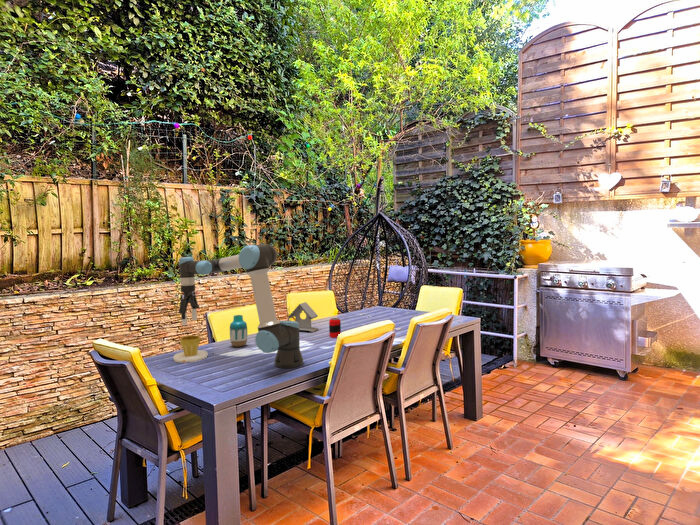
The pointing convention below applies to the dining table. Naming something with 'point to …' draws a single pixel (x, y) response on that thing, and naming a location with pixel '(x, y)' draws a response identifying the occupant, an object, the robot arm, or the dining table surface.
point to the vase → (238, 331)
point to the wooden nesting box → (305, 323)
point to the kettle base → (190, 357)
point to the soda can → (334, 327)
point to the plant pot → (190, 344)
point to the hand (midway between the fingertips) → (189, 322)
